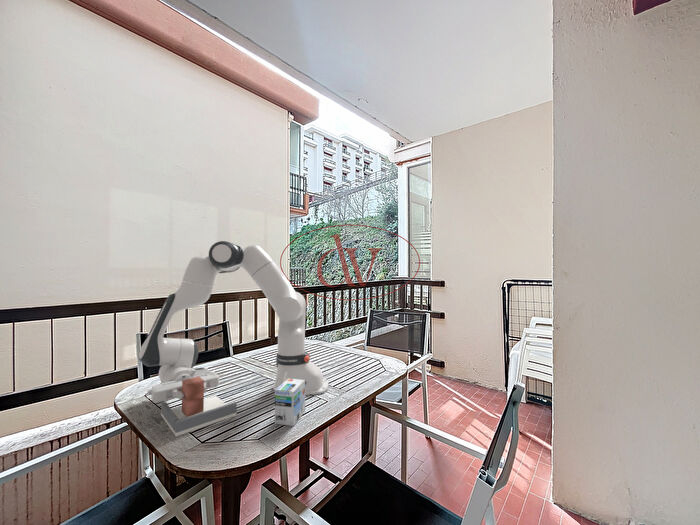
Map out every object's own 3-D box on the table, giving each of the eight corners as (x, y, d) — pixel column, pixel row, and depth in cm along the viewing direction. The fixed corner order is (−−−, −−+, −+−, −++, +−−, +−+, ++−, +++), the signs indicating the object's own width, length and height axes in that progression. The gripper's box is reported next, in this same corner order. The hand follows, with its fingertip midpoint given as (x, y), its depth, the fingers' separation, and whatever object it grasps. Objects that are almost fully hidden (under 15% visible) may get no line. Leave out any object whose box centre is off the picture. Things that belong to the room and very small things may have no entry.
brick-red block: (198, 406, 100) (198, 376, 100) (203, 411, 96) (203, 380, 96) (181, 411, 96) (182, 380, 96) (186, 417, 93) (186, 384, 93)
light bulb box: (293, 426, 92) (294, 391, 93) (273, 424, 94) (273, 389, 94) (305, 410, 103) (305, 379, 103) (287, 408, 104) (287, 377, 104)
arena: (216, 398, 112) (216, 387, 112) (236, 415, 99) (236, 403, 100) (160, 414, 100) (160, 402, 100) (175, 436, 87) (176, 422, 87)
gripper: (146, 380, 98) (156, 392, 88) (210, 366, 113) (225, 375, 103) (145, 399, 98) (155, 414, 88) (210, 383, 112) (225, 394, 103)
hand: (193, 393), depth 96 cm, fingers closed on brick-red block, 5 cm apart
